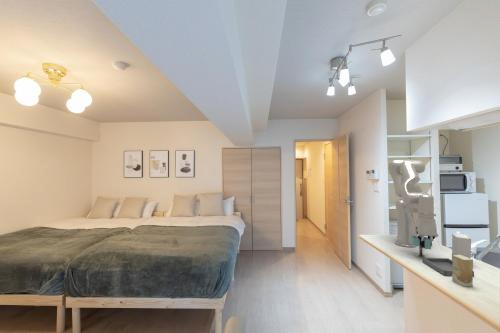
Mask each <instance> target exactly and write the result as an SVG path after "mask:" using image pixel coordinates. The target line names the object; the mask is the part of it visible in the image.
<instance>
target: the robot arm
mask: <svg viewBox="0 0 500 333" xmlns="http://www.w3.org/2000/svg"><path fill="white" fill-rule="evenodd" d="M387 169H388V172H389V175H390V177H391V179H392V182H393V188H394V191H395V195H396V196H397V198H399V199H397V200H396V201H395V204H394V205H395V209H396V221H397V222H396V227H397V228H396V232H397V234H396V239H397V240H395V241H394V243H395V245H396V246H400V247H406V248H416V247H417V245H413V244H412V243H411V236H416V237H417V238H418V239H419V240H420V246H421V247H422V248H423V249H424V237H427V238H429V239H431V247H432V246H433V244H432V243H433V241H434V239H435V238H438V237H439V234H438V232H437V222H436V219H435V217H436V216H437V214H436V213H435V206H434V205H435V199H434V198H435V197H434V196H433V195H432V194H429V193H427V192H423V190H422V187H421V186H420V185H419V184H418V183H419V182H420V180H421V178H420V175H419V174H422V173H424V172H425V171H426V165H425V163H424V162H423V160H420V159H419V160H418V159H393V160H390V161H389V163H388V168H387ZM411 213H413V214H417V217H416V218H415V222H414V218H413V217H412V215H411Z"/></svg>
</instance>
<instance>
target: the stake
mask: <svg viewBox="0 0 500 333" xmlns="http://www.w3.org/2000/svg"><path fill="white" fill-rule="evenodd" d="M418 247H419V248H418V250H419V254H417V255H418V257H420V258H425V256H424V255H423V254H424V253H423V249H424V248H422V247H421V246H418Z"/></svg>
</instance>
